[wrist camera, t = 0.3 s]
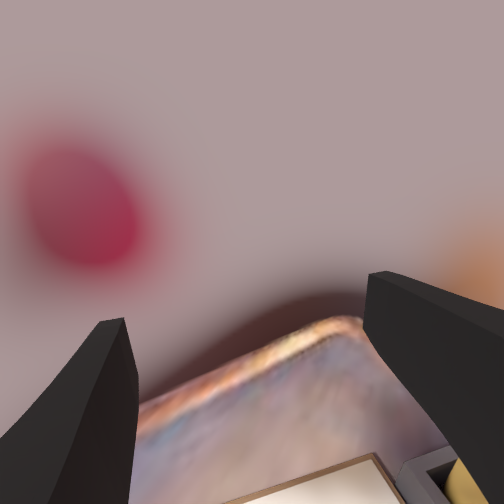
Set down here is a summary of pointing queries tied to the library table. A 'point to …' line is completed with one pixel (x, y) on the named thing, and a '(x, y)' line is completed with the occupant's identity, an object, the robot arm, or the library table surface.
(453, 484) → the button
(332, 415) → the library table surface
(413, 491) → the button base
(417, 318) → the robot arm
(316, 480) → the colouring board
